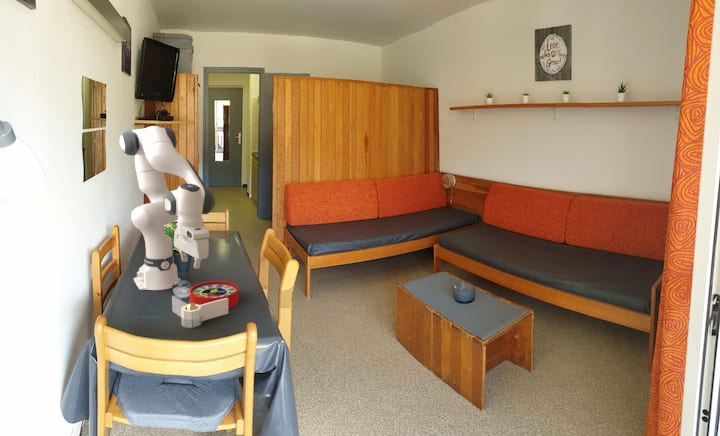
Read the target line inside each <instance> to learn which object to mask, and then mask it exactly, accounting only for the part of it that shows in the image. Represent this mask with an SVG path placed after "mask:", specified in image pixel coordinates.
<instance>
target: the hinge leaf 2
mask: <svg viewBox="0 0 720 436" xmlns="http://www.w3.org/2000/svg"><path fill="white" fill-rule="evenodd" d="M228 314H229V308H228V298H224V299H220V300H216V301H213V302H209V303H205V304H202V305H199V304H195V310H187V305H185V306H183V307H182V308H181V317H182V318H183V319H185V320H192V319H193V320H194V319H197V318H200V317H201V315H202V322H204V321H207V320H211V319H214V318H217V317H221V316H225V315H228ZM181 317H180V318H181Z"/></svg>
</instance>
